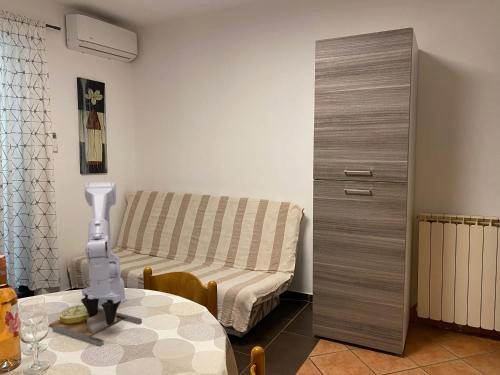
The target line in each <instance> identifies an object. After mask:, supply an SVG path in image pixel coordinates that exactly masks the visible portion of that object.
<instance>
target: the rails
mask: <svg viewBox="0 0 500 375" xmlns="http://www.w3.org/2000/svg"><path fill="white" fill-rule="evenodd" d="M103 311H104V309H101V308H98V313H101V312H103ZM116 317H118V318H121V321H124V322H127V323H132V324H134V325H135V324H136V325H142V323H143V319H142V318H140V317H136V316H133V315H129V314H128V315H127V314H125V313H121V312H120V313H119V312H117V311H116ZM51 328H52V332H54V333H57V334H60V335H63V336H66V337H69V338H73V339H75V340H79V341H81V342H85V343H87V344H90V345H95V346H97V347H102V346H104V345H105V343H104V342H105V341H104V339H102V338H98V337H96V336H95V337H94V336H89V335H85V334H82V333H79V332H76V331H73V330H69V329H66V328H63V327H60V326H53V327H51Z"/></svg>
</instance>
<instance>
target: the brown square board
mask: <svg viewBox="0 0 500 375" xmlns="http://www.w3.org/2000/svg"><path fill="white" fill-rule="evenodd" d="M121 321H122V320H121V318H118V317H116V315H115V320H114V323H112V324H110V325H107V322H106V316H105V312H104V311H103V312H101V313H98V314H97V315H95V316H93V317H91V318H89V319H87V321H86V322H83V323H79V324H73V325H67V324H63V323H62V322H61V321H60V318H58V319H57V320H55V321H53V322H50V323H48V324H49V326H48V327H49V328H52V327H53V326H60V327H63V328H66V329H69V330H73V331H76V332H79V333H82V334H85V335H89V336H92V337H94V335H96V334H99V333H100V332H102V331H103V330H106V329H108V328H110V327H111V326H113V325H116V324H117V323H119V322H121Z"/></svg>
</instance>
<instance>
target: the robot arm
mask: <svg viewBox="0 0 500 375" xmlns="http://www.w3.org/2000/svg"><path fill="white" fill-rule="evenodd" d="M84 198H85V200H86V203H87V204H88V206H89V207H92V220H90V221H89V222H88V235H87V236H88V237H87V241H85V247H84V248H85V249H84V251H85V252H84V253H85V258H86V261H87V263H86V264H87V266H88V279H89V287H85V288H83V289H81V296H82V297H83V298H81V299H80V301H81V303H82V305H84V306H85V307H86V309H87V312H88V314H89V317H90V318H91V317H93V316H95V315H97V314H98V308H101V309H104V312H105V316H106V322H107V325H110V324H112V323H114V320H115V315H116V312H117V311H118V308H119V306H120V304H122V303H124V302H127V298H126V294H125V293H126V292H125V281H124V279H123V278H122V277H121V263H120V257H119V255H117V254H116V253H114V252H112V243H111V225H110V224H111V223H110V211H111V207H112V206H114V205H116V202H117V186H116V183H115V181H107V182H106V181H103V182H101V181H100V182H99V181H98V182H86V183H85V184H84Z"/></svg>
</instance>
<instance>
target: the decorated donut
mask: <svg viewBox="0 0 500 375" xmlns="http://www.w3.org/2000/svg"><path fill="white" fill-rule="evenodd" d="M89 318H90V317H89V314H88V312H87V309H86V307H85V306H84V304H76V305H73V306H71V307H68V308H66V309H63V311H62V312H60V314H59V319H60V321H61V322H62V323H63V324H67V325H73V324H79V323H83V322H86V321H87V319H89Z"/></svg>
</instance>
